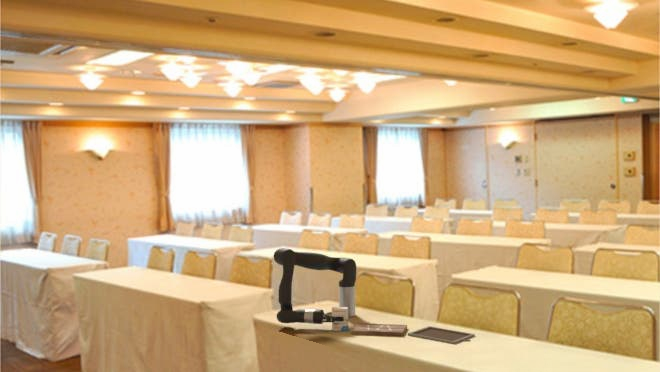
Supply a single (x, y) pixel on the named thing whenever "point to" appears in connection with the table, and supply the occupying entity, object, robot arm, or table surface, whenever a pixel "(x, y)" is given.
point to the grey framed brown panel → (441, 335)
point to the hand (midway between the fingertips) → (344, 317)
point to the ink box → (340, 324)
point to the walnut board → (379, 329)
